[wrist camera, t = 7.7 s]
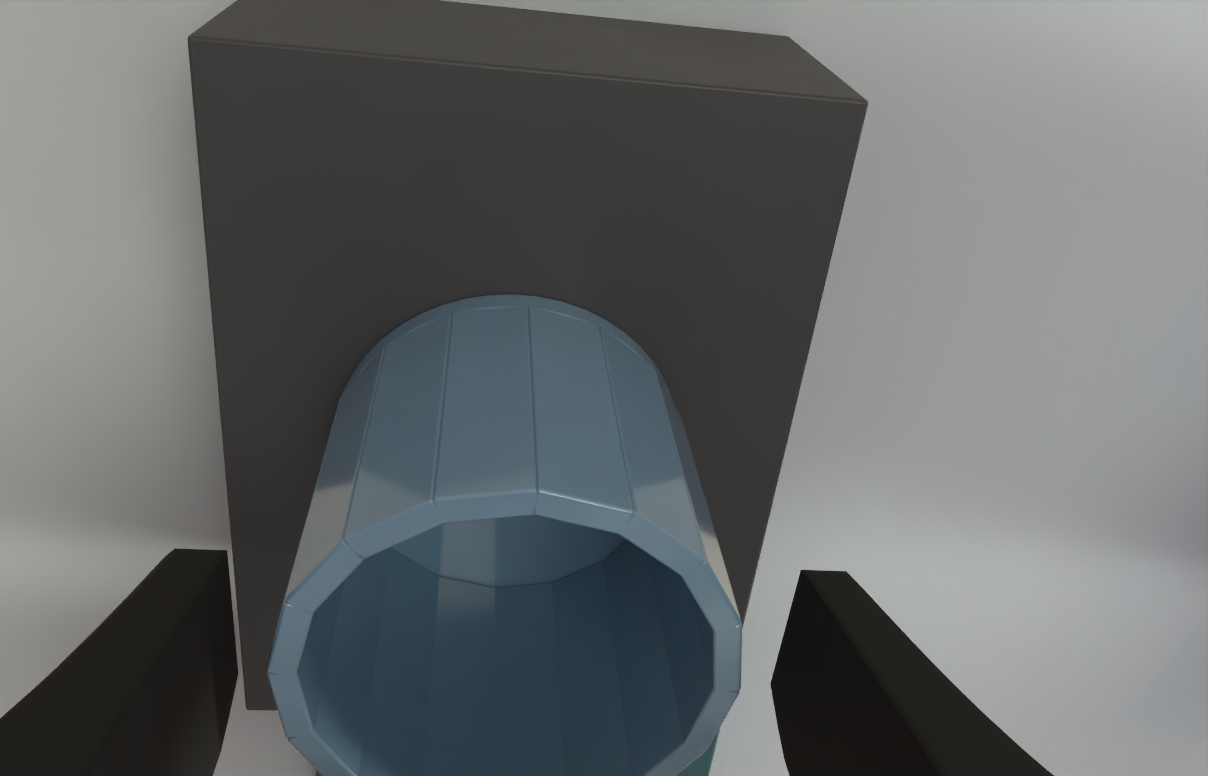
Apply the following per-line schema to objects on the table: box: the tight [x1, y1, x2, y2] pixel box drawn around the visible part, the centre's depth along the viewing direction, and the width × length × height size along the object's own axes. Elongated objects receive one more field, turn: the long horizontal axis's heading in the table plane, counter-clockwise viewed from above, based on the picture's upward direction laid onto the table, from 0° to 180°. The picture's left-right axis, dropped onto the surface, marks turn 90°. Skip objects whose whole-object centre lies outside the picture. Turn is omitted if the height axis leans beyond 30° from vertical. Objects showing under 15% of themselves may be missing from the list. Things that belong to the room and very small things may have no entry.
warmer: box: [188, 0, 868, 710], centre depth 18 cm, size 9×12×4 cm
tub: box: [266, 294, 742, 776], centre depth 14 cm, size 6×6×5 cm
